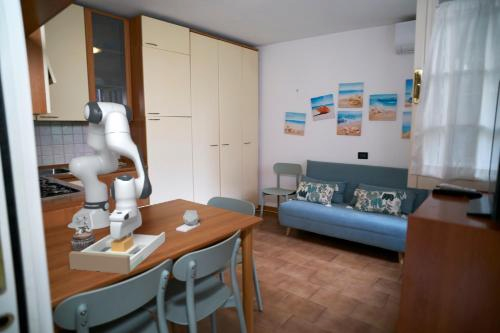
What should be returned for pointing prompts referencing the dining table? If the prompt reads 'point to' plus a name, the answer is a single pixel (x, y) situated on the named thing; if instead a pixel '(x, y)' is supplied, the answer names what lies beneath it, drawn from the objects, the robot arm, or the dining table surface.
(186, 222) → the die
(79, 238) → the cupcake
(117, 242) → the block
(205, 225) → the dining table surface
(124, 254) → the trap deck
